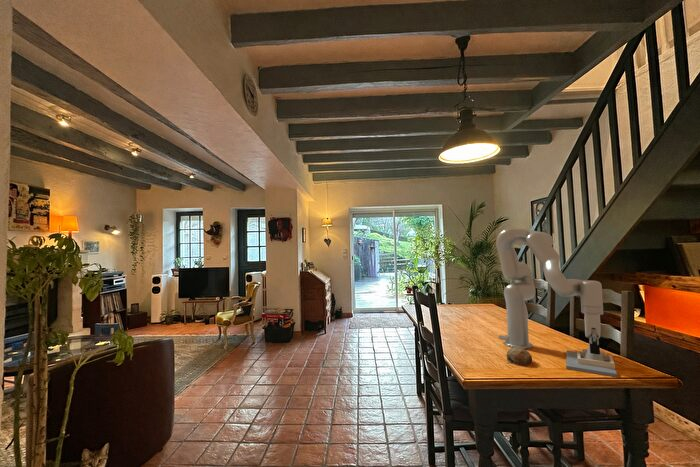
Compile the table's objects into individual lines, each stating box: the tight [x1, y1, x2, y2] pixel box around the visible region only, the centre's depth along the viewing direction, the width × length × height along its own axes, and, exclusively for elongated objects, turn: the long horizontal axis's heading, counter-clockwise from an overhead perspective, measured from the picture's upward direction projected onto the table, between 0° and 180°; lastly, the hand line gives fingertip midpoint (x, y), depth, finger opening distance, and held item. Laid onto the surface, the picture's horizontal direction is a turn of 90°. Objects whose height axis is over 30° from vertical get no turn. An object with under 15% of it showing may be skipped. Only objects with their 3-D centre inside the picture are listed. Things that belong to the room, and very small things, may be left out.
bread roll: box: [506, 347, 533, 366], centre depth 139 cm, size 10×10×8 cm
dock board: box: [565, 348, 618, 378], centre depth 135 cm, size 16×24×4 cm, turn 145°
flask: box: [584, 337, 605, 362], centre depth 135 cm, size 7×7×10 cm
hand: (594, 350), depth 134 cm, fingers open, 9 cm apart
